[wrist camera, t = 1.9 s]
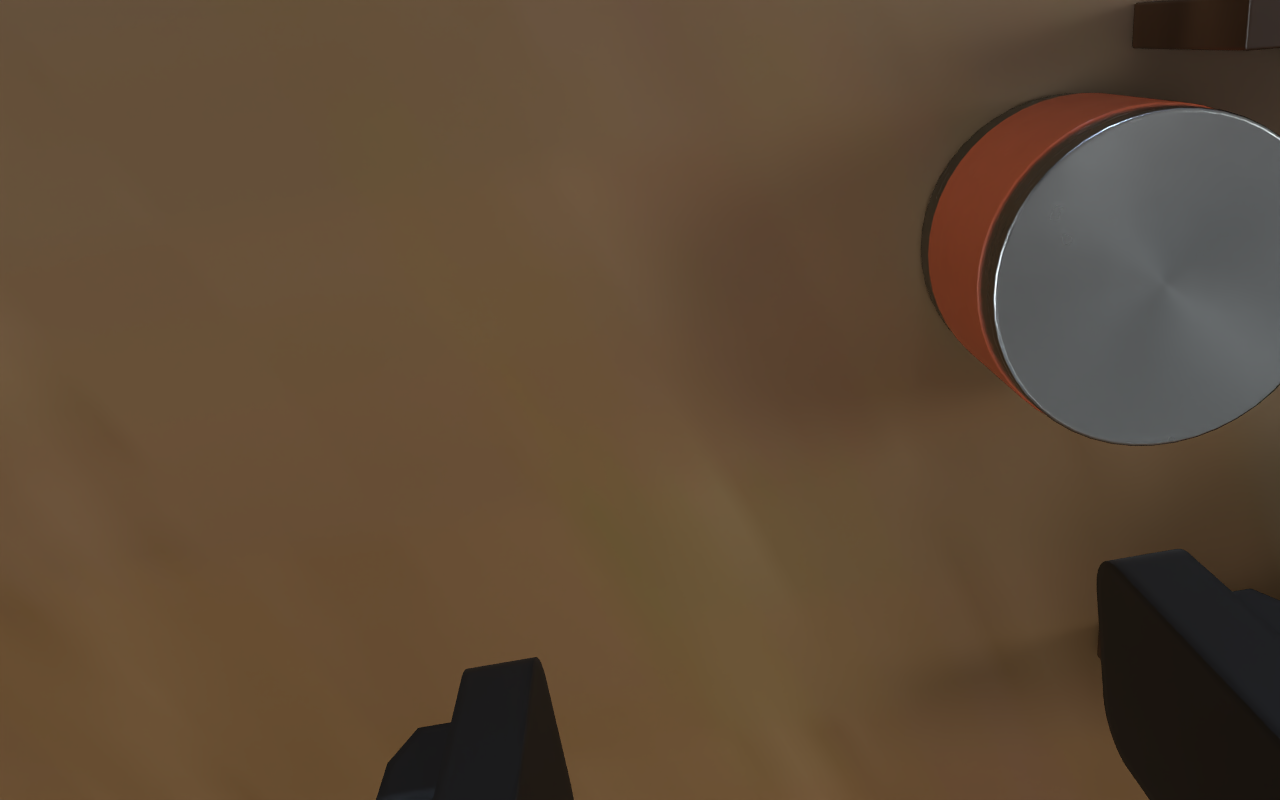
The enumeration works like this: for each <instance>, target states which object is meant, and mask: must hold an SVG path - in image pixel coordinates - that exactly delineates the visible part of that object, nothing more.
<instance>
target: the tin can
mask: <svg viewBox="0 0 1280 800" xmlns="http://www.w3.org/2000/svg"><path fill="white" fill-rule="evenodd" d="M921 259H922V269H923V274H924V279H925V284H926V287H927V290H928V292H929V295H930V298H931V301H932V303H933V305H934V307H935V308H936V310H937V312H938V314H939V316H940V317H941V319H942V320H943V322H944V323H945V324H946V326H947V327H948V329H949V330H950V331H951V332H952V333H953V334H954V335H955V337H956V338H957V339H958V340H959V341H960V342H961V344H962V345H963V346H964V347H965V348H966V349H967V350H968V351H969V352H970V353H971V354H973V355H974V356H975V357H976V358H977V359H978V360H979V361H980V362H982V363H983V364H984V365H985V366H986V367H987V368H988V369H990V370H991V371H992V372H993V373H994V374H995V375H996V376H997V377H999V378H1000V379H1001V380H1002V381H1003V382H1004V383H1005V384H1007V385H1008V386H1009V387H1010V388H1011V389H1012V390H1013V391H1015V392H1016V393H1017V394H1018V395H1019V396H1020V397H1021V398H1023V399H1024V400H1025V401H1026V402H1028V403H1029V404H1030V405H1032V406H1033V407H1034V408H1035V409H1037V410H1038V411H1040V412H1042V413H1044V414H1045V415H1047V416H1048V417H1049V418H1050V419H1052V420H1053V421H1055V422H1056V423H1058V424H1060V425H1062V426H1063V427H1065V428H1067V429H1069V430H1070V431H1072V432H1075V433H1077V434H1080V435H1082V436H1085V437H1088V438H1090V439H1094V440H1098V441H1102V442H1106V443H1111V444H1119V445H1128V446H1150V445H1160V444H1167V443H1174V442H1178V441H1182V440H1186V439H1190V438H1194V437H1197V436H1200V435H1202V434H1205V433H1208V432H1210V431H1213V430H1215V429H1218V428H1220V427H1222V426H1224V425H1225V424H1227V423H1229V422H1231V421H1233V420H1235V419H1237V418H1239V417H1240V416H1242V415H1243V414H1245V413H1246V412H1248V411H1249V410H1251V409H1252V408H1254V407H1255V406H1256V405H1258V404H1259V403H1260V402H1261V401H1262V400H1264V399H1265V398H1266V397H1267V396H1268V395H1270V394H1271V393H1272V392H1273V391H1274V390H1275V389H1276V388H1277V387H1278V386H1279V385H1280V135H1278V134H1276V133H1275V132H1273V131H1272V130H1270V129H1269V128H1267V127H1266V126H1264V125H1262V124H1260V123H1258V122H1256V121H1253V120H1251V119H1249V118H1247V117H1245V116H1242V115H1238V114H1235V113H1231V112H1228V111H1224V110H1219V109H1214V108H1211V107H1207V106H1203V105H1200V104H1192V103H1184V102H1177V101H1168V100H1159V99H1150V98H1141V97H1132V96H1123V95H1115V94H1106V93H1077V94H1060V95H1053V96H1047V97H1043V98H1040V99H1036V100H1032V101H1029V102H1026V103H1024V104H1022V105H1019V106H1017V107H1015V108H1012V109H1010V110H1008V111H1007V112H1005V113H1003V114H1001V115H1000V116H998V117H996V118H994V119H993V120H991V121H990V122H989V123H988V124H986V125H985V126H984V127H982V128H981V129H980V130H978V131H977V132H976V133H975V134H974V135H973V136H972V137H971V138H970V139H969V140H968V141H967V142H966V143H964V144H963V146H962V147H961V148H960V149H959V150H958V152H957V153H956V154H955V155H954V157H953V158H952V159H951V160H950V162H949V163H948V165H947V167H946V168H945V170H944V171H943V173H942V174H941V176H940V178H939V180H938V182H937V184H936V186H935V188H934V190H933V193H932V195H931V198H930V201H929V204H928V207H927V210H926V213H925V218H924V223H923V228H922V239H921Z"/></svg>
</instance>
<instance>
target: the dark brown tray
mask: <svg viewBox="0 0 1280 800" xmlns="http://www.w3.org/2000/svg"><path fill="white" fill-rule="evenodd" d="M1132 46H1133V48H1142V49H1192V50H1241V51H1248V50H1261V49H1275V48H1280V0H1167V1H1154V2H1141V3H1136V4H1135V8H1134V25H1133V42H1132ZM1097 655H1098V657H1099V658H1100V660H1101V649H1100V632H1099V636H1098V654H1097Z"/></svg>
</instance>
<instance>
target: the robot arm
mask: <svg viewBox="0 0 1280 800" xmlns="http://www.w3.org/2000/svg"><path fill="white" fill-rule="evenodd" d="M1097 600H1098V616H1099V632H1100V649H1101V665H1102V681H1103V696H1104V705H1105V711H1106V716H1107V721H1108V724H1109V728H1110V731H1111V734H1112V737H1113V740H1114V743H1115V745H1116V748H1117V750H1118V752H1119V754H1120V756H1121V758H1122V760H1123V762H1124V763H1125V765H1126V767H1127V768H1128V770H1129V771H1130V772H1131V774H1132V775H1133V777H1134V778H1135V779H1136V781H1137V782H1138V784H1139V785H1140V787H1141V788H1142V789H1143V791H1144V792H1145V794H1146V795H1147V797H1148V798H1149V799H1150V800H1280V601H1279V600H1277V599H1275V598H1272V597H1270V596H1267V595H1265V594H1263V593H1260V592H1258V591H1256V590H1253V589H1245V590H1240V591H1234V592H1232V591H1231V590H1229V589H1228V588H1227V587H1226V586H1225V585H1224V584H1223V583H1222V582H1220V581H1219V580H1218V579H1217V578H1216V577H1215V576H1214V575H1213V574H1212V573H1210V572H1209V571H1208V570H1207V569H1206V568H1205V567H1204V566H1203V565H1201V564H1200V563H1199V562H1198V561H1197V560H1196V559H1195V558H1194V557H1193V556H1191V555H1190V554H1189V553H1188V552H1186V551H1185V550H1182V549H1174V550H1168V551H1163V552H1157V553H1151V554H1145V555H1139V556H1133V557H1127V558H1121V559H1116V560H1110V561H1105V562H1103V563H1102V564H1101V565H1100V567H1099V569H1098V574H1097ZM376 800H574V799H573V793H572V788H571V783H570V779H569V775H568V771H567V766H566V762H565V758H564V753H563V749H562V745H561V741H560V736H559V732H558V728H557V724H556V719H555V715H554V711H553V706H552V702H551V698H550V694H549V689H548V685H547V681H546V677H545V673H544V670H543V667H542V664H541V662H540V660H539V659H538V658H537V657H534V658H528V659H522V660H516V661H510V662H504V663H499V664H493V665H487V666H481V667H475V668H469V669H466V670H465V671H464V672H463V675H462V679H461V683H460V687H459V691H458V695H457V700H456V704H455V708H454V712H453V716H452V721H451V723H445V724H439V725H433V726H427V727H421V728H418V729H417V730H416V731H415V732H414V733H413V735H412V736H411V737H410V738H409V739H408V740H407V742H406V743H405V744H404V745H403V746H402V747H401V748H400V750H399V751H398V752H397V753H396V754H395V755H394V757H393V758H392V759H391V760H390V761H389V762H388V764H387V766H386V770H385V773H384V776H383V779H382V782H381V786H380V789H379V792H378V795H377V798H376Z"/></svg>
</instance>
